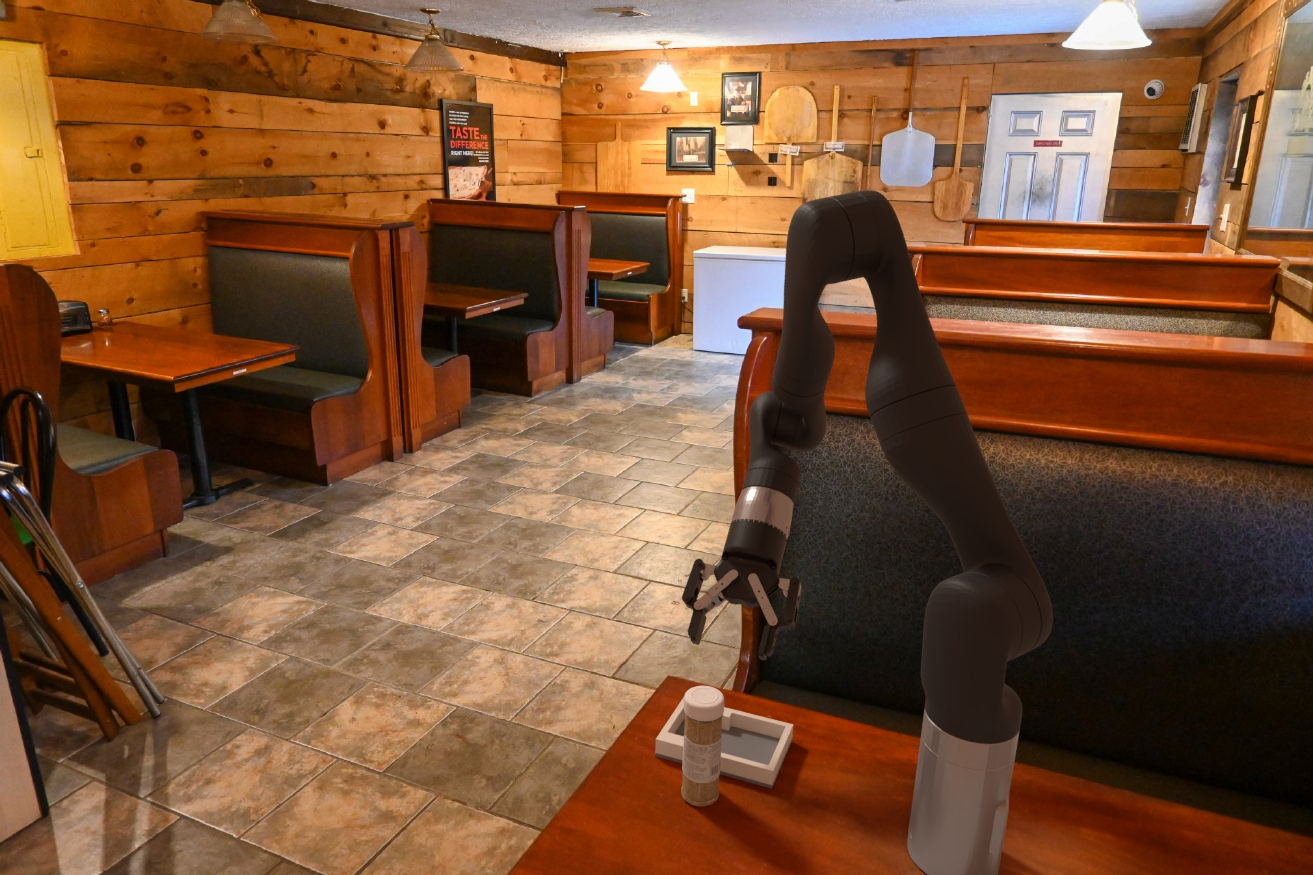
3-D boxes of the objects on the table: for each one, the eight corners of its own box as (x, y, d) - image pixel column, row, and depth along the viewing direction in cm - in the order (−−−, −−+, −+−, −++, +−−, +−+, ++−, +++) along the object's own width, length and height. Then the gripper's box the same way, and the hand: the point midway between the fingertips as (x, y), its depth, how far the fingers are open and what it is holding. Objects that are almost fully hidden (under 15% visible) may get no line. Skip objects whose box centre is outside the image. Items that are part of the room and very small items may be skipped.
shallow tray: (792, 741, 111) (793, 724, 111) (772, 788, 103) (773, 770, 102) (683, 712, 117) (683, 696, 116) (655, 756, 108) (655, 738, 107)
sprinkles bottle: (701, 777, 104) (705, 679, 100) (727, 797, 101) (733, 697, 97) (672, 792, 101) (675, 692, 98) (698, 814, 98) (703, 711, 94)
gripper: (701, 508, 111) (665, 628, 104) (810, 526, 106) (781, 654, 99) (712, 532, 117) (679, 647, 110) (816, 550, 112) (789, 672, 105)
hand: (727, 650), depth 105 cm, fingers open, 8 cm apart
